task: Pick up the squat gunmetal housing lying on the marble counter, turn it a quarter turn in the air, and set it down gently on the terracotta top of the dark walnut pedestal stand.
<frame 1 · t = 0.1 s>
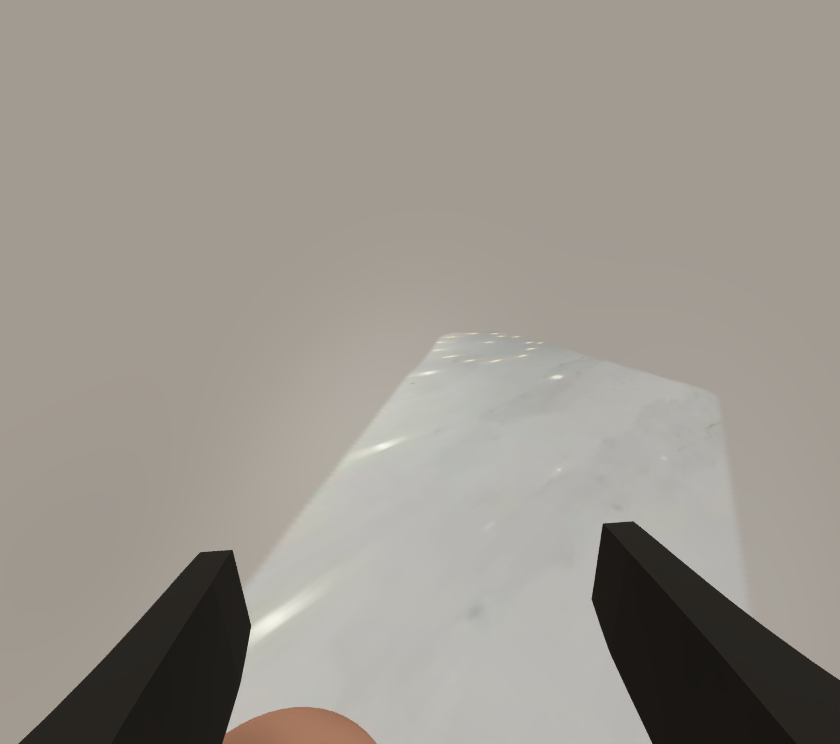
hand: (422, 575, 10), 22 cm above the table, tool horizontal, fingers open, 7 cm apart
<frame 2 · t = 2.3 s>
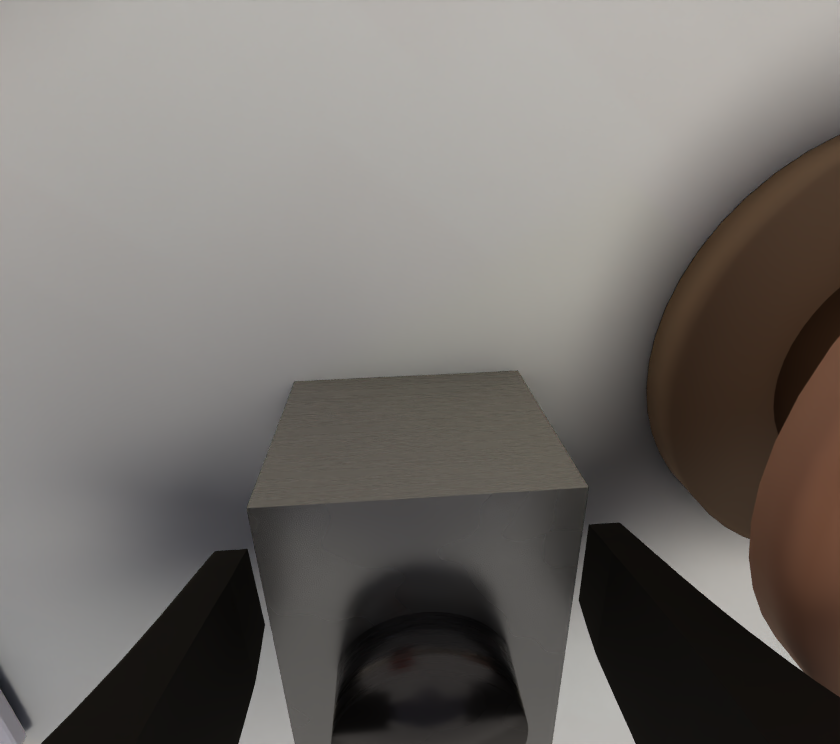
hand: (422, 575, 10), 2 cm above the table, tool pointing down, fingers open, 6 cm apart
housing: (412, 509, 12), on the table
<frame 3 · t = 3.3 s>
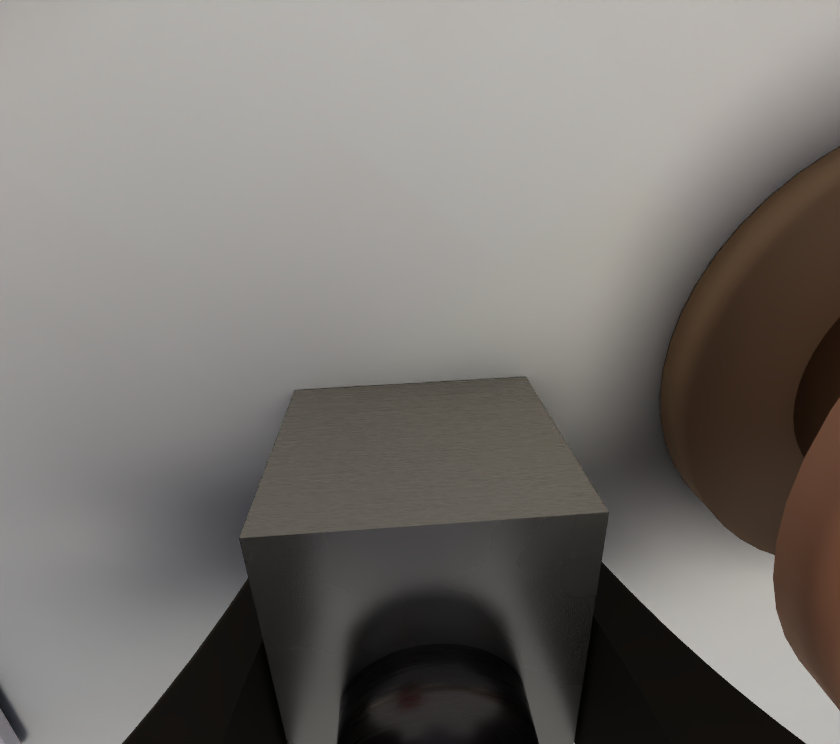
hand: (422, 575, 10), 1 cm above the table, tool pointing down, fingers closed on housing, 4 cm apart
housing: (417, 525, 11), on the table, touching gripper
when the fingers open (7 cm above the table, at t = 6.4 s): housing stays where it is, resting on stand.
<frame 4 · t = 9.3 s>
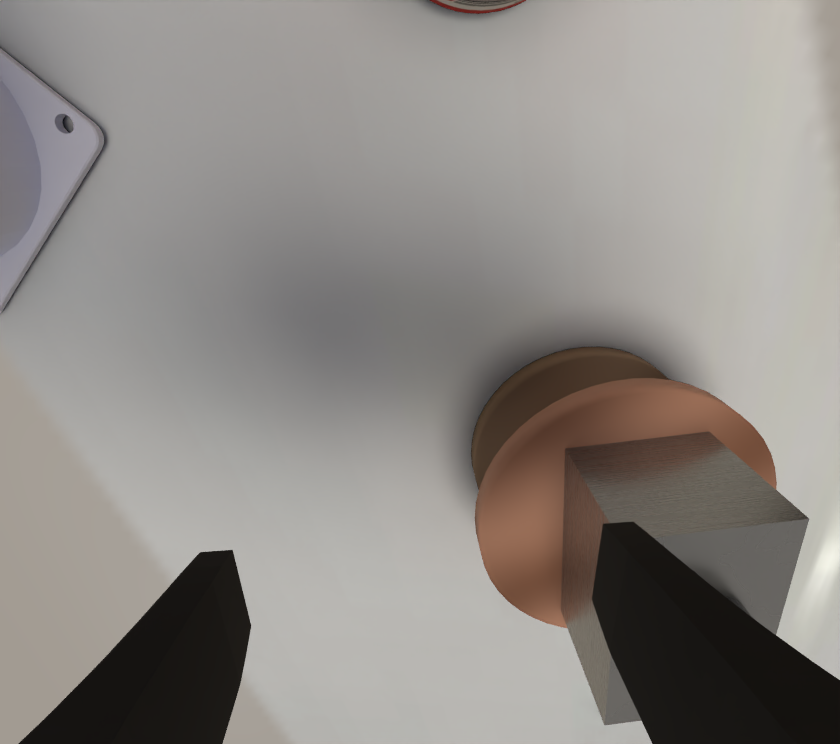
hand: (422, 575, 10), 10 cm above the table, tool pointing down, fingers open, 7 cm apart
housing: (628, 528, 17), point 5 cm above the table, touching stand
stand: (575, 445, 21), on the table
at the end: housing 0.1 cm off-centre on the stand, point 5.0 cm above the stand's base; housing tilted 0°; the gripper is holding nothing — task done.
